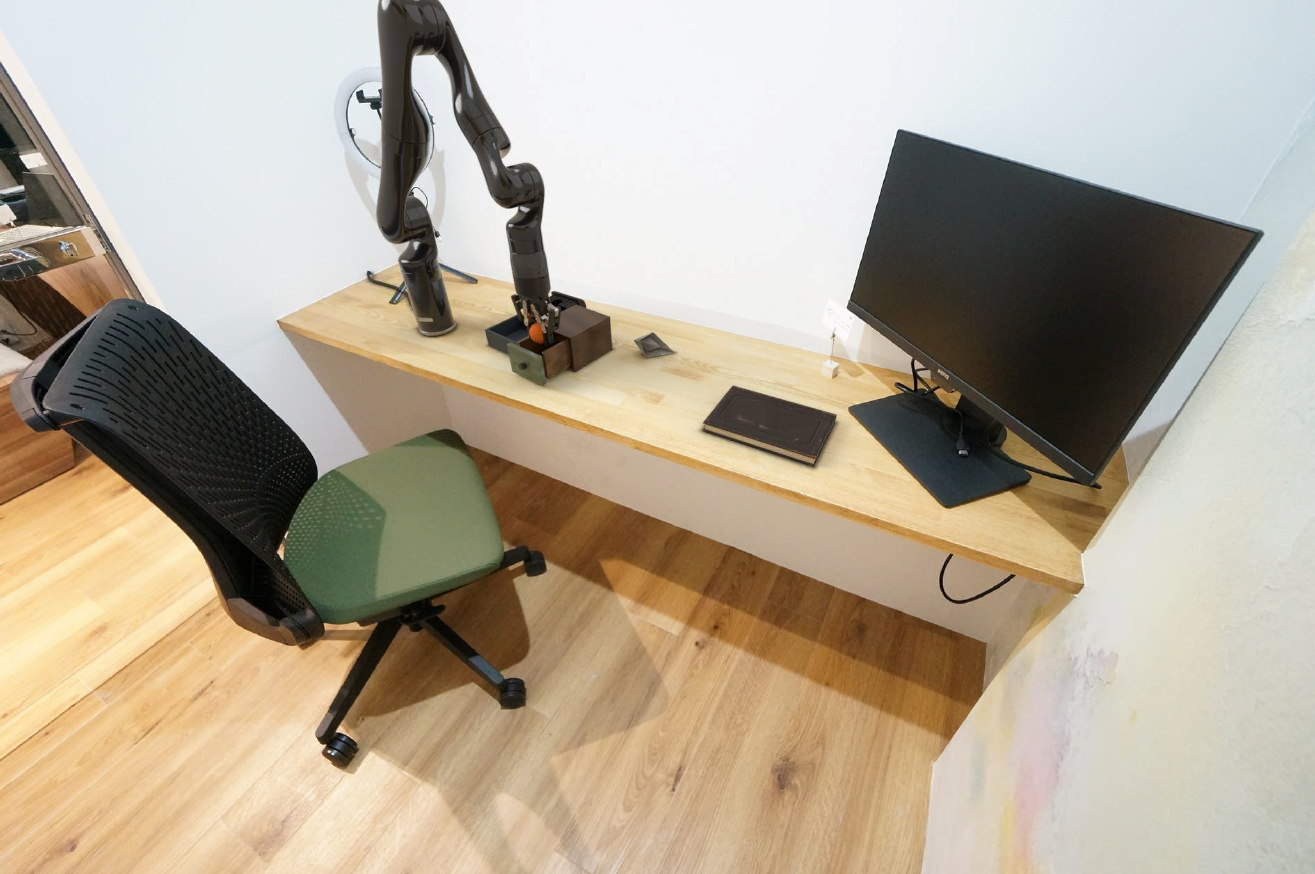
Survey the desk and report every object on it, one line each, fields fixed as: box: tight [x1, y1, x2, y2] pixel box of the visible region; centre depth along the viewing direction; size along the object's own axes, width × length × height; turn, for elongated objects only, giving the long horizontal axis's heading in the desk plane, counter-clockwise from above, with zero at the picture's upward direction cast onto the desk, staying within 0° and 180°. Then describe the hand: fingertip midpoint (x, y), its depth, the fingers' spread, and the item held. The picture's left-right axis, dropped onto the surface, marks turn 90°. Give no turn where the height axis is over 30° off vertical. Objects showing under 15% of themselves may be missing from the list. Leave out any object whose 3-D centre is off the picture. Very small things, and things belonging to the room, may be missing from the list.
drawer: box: [507, 334, 572, 387], centre depth 124 cm, size 14×10×7 cm
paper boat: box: [632, 331, 675, 358], centre depth 130 cm, size 12×6×9 cm
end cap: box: [549, 290, 587, 312], centre depth 146 cm, size 10×7×7 cm
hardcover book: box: [702, 384, 838, 468], centre depth 109 cm, size 16×23×2 cm
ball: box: [529, 322, 548, 344], centre depth 121 cm, size 5×5×5 cm
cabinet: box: [545, 305, 613, 373], centre depth 130 cm, size 14×12×9 cm
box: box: [484, 314, 537, 356], centre depth 136 cm, size 14×12×5 cm
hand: (541, 341), depth 122 cm, fingers closed on ball, 4 cm apart
